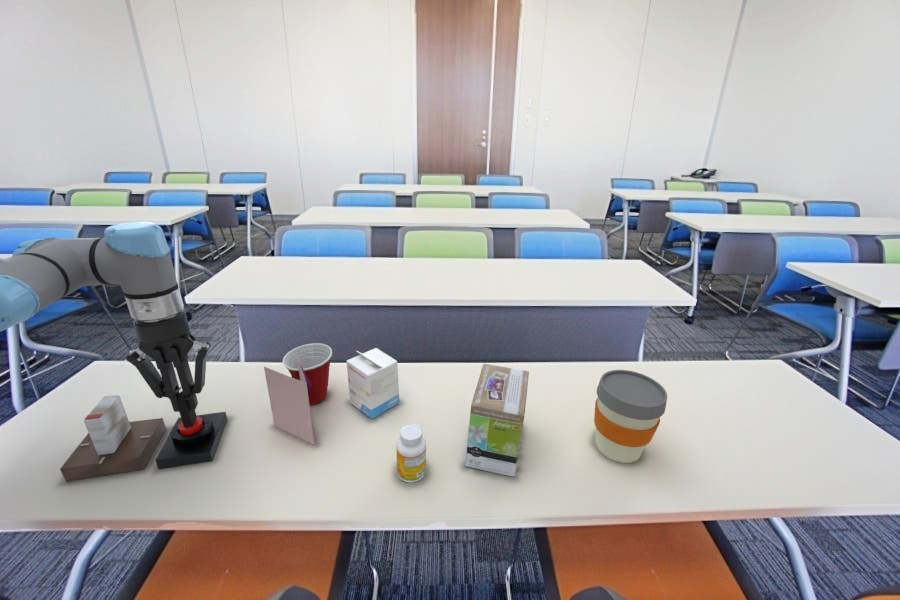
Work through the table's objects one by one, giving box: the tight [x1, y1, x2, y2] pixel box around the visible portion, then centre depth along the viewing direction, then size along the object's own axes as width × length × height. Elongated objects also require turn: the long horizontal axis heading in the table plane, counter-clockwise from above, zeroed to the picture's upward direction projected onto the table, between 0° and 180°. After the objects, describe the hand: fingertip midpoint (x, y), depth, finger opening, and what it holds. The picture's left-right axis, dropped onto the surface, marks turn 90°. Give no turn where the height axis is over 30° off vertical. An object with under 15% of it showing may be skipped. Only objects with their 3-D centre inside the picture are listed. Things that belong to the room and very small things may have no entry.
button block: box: [155, 411, 228, 470], centre depth 79 cm, size 9×12×4 cm
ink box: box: [346, 347, 400, 420], centre depth 91 cm, size 9×8×13 cm
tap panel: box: [59, 417, 167, 482], centre depth 76 cm, size 12×11×3 cm
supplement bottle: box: [395, 423, 427, 483], centre depth 73 cm, size 5×5×10 cm
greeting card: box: [263, 356, 315, 446], centre depth 81 cm, size 11×7×15 cm, turn 28°
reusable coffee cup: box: [593, 369, 668, 464], centre depth 80 cm, size 13×13×15 cm
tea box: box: [464, 363, 530, 478], centre depth 79 cm, size 15×10×15 cm, turn 167°
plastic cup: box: [282, 342, 333, 406], centre depth 92 cm, size 11×11×12 cm
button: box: [178, 417, 204, 435], centre depth 78 cm, size 4×4×2 cm
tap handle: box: [83, 394, 131, 455], centre depth 74 cm, size 7×2×8 cm, turn 15°
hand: (190, 422), depth 78 cm, fingers closed
